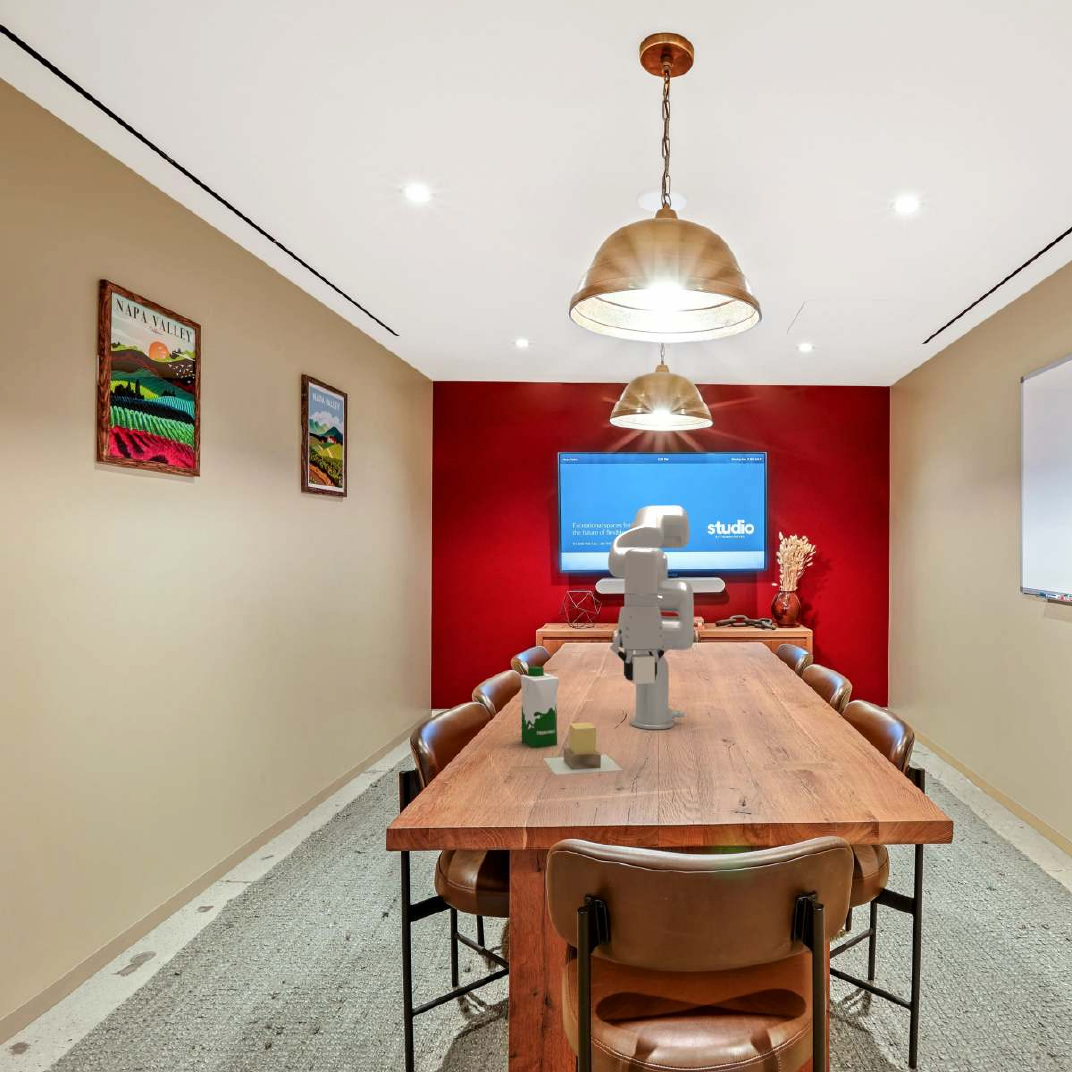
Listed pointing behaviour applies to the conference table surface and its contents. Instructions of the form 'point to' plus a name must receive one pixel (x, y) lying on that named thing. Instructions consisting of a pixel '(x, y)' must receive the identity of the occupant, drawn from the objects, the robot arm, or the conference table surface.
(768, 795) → the conference table surface
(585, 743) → the mustard brick
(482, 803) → the conference table surface
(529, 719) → the milk carton
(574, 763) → the walnut base brick
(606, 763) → the plate
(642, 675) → the cream brick
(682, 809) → the conference table surface
